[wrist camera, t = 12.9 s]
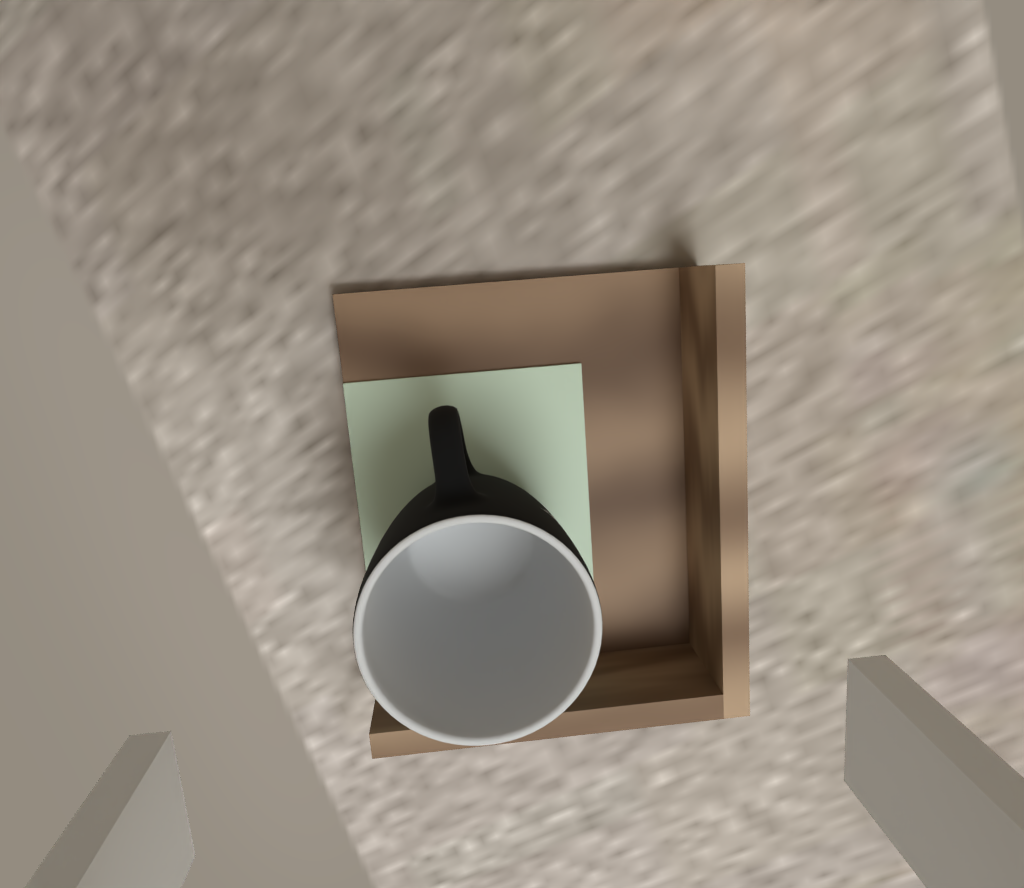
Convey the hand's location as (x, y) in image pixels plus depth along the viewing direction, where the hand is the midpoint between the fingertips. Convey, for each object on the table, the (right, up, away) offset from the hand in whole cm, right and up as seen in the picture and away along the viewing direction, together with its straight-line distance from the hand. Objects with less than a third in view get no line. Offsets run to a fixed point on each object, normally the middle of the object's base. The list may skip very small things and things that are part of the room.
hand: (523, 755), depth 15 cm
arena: (+1, +4, +23) cm, 23 cm away
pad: (-2, +3, +22) cm, 22 cm away
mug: (-2, +3, +22) cm, 22 cm away
